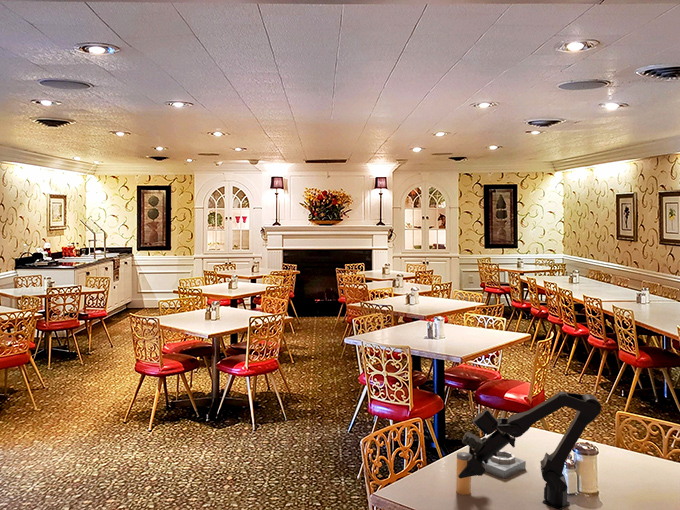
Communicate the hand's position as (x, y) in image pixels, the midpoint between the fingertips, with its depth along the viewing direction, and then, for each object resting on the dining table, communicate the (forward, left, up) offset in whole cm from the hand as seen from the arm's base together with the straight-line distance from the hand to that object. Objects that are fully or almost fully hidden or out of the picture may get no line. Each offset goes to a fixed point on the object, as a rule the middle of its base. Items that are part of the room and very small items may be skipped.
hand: (460, 471), depth 199 cm
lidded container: (-1, -1, -7) cm, 7 cm away
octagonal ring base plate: (+4, -28, -7) cm, 29 cm away
